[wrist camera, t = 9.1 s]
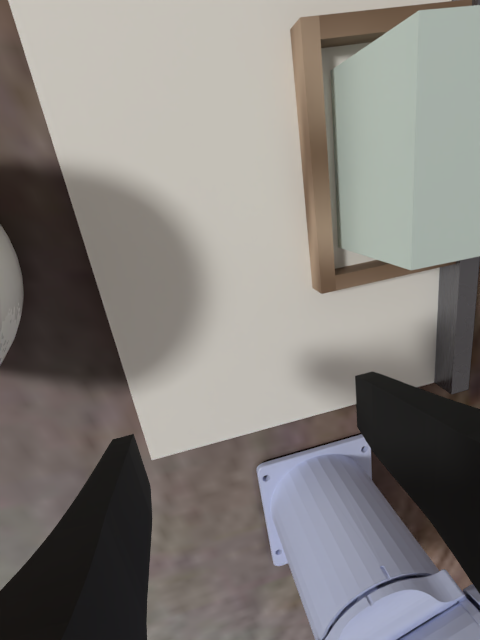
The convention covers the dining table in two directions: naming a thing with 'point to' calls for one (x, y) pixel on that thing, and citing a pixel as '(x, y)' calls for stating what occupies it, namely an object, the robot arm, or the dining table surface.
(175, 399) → the white square tray
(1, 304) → the lidded jar
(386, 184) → the carton
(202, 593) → the dining table surface
